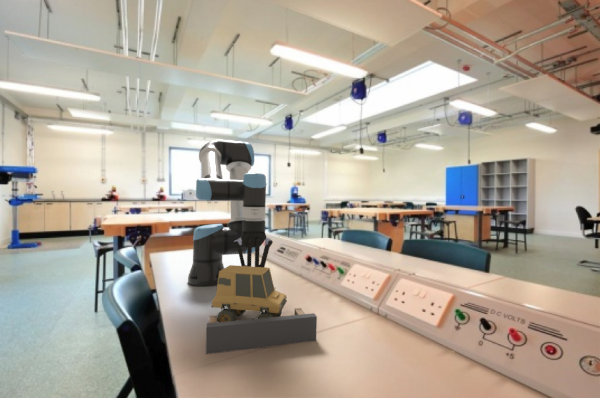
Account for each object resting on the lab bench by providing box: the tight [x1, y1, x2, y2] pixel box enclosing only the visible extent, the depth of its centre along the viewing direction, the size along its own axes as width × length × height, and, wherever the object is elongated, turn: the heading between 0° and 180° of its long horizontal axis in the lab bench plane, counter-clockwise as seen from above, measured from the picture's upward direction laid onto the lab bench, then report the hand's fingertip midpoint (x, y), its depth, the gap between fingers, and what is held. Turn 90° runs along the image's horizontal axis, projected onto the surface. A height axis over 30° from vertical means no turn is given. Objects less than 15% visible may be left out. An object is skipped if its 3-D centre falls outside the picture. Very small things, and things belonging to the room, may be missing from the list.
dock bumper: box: [205, 312, 318, 355], centre depth 67 cm, size 2×26×6 cm, turn 105°
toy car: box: [210, 264, 287, 322], centre depth 78 cm, size 10×19×15 cm, turn 80°
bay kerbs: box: [208, 307, 306, 323], centre depth 74 cm, size 12×26×2 cm, turn 105°
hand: (252, 289), depth 94 cm, fingers closed
